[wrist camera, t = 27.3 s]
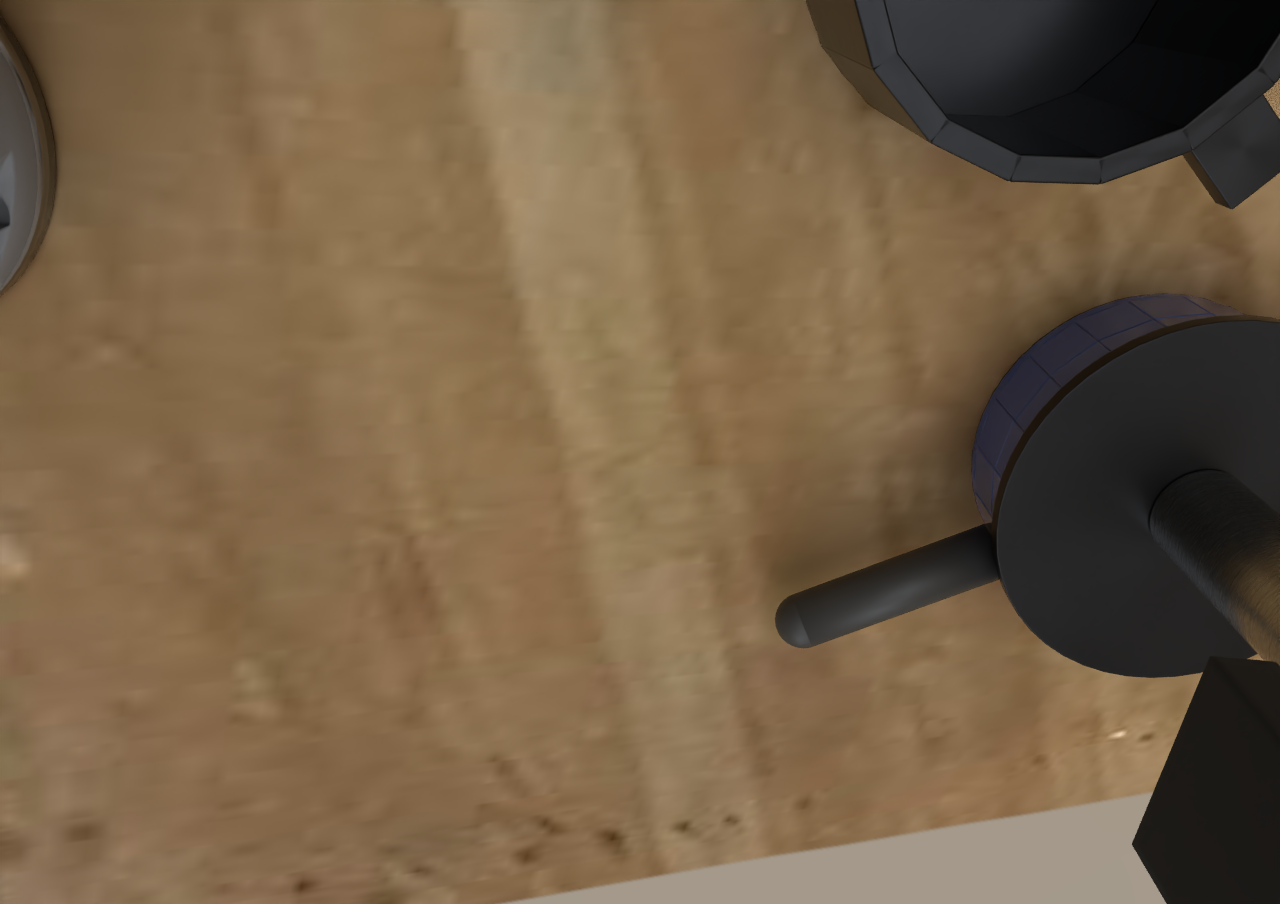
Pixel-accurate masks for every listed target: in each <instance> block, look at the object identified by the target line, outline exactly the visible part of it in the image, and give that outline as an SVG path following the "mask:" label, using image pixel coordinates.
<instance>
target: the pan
mask: <svg viewBox="0 0 1280 904" xmlns="http://www.w3.org/2000/svg"><path fill="white" fill-rule="evenodd" d="M1233 315H1245V314H1243V313H1241V312H1239V311H1238V310H1236V309H1234V308H1232V307H1230V306H1225V305H1223V304H1220V303H1217V302H1214V301H1211V300H1208V299H1205V298H1200V297H1194V296H1189V295H1181V294H1152V295H1140V296H1135V297H1130V298H1125V299H1120V300H1116V301H1113V302H1110V303H1107V304H1104V305H1101V306H1098V307H1095V308H1093V309H1091V310H1088V311H1086V312H1084V313H1082V314H1080V315H1078V316H1075V317H1073V318H1072V319H1070V320H1068V321H1067V322H1065V323H1063V324H1062V325H1060V326H1058V327H1057V328H1055V329H1054V330H1052V331H1051V332H1050V333H1048V334H1047V335H1046V336H1044V337H1043V338H1042V339H1040V340H1039V341H1038V342H1036V343H1035V344H1034V345H1033V346H1032V347H1031V348H1030V349H1029V350H1028V351H1027V352H1026V353H1025V354H1024V355H1023V356H1022V357H1020V358H1019V360H1018V361H1017V362H1016V363H1015V364H1014V365H1013V367H1012V368H1011V369H1010V370H1009V371H1008V373H1007V374H1006V375H1005V376H1004V378H1003V379H1002V381H1001V382H1000V384H999V385H998V387H997V388H996V390H995V391H994V393H993V394H992V396H991V398H990V401H989V403H988V405H987V407H986V409H985V411H984V413H983V415H982V418H981V421H980V424H979V427H978V430H977V432H976V437H975V442H974V447H973V452H972V468H971V472H972V484H973V491H974V495H975V499H976V503H977V507H978V509H979V512H980V514H981V516H982V519H983V521H984V523H985V524H986V523H992V518H993V510H994V502H995V498H996V495H997V491H998V487H999V484H1000V480H1001V477H1002V475H1003V472H1004V470H1005V467H1006V465H1007V463H1008V460H1009V458H1010V456H1011V454H1012V452H1013V450H1014V448H1015V447H1016V445H1017V443H1018V442H1019V440H1020V438H1021V436H1022V435H1023V433H1024V431H1025V430H1026V429H1027V427H1028V426H1029V425H1030V423H1031V422H1032V421H1033V419H1034V418H1035V417H1036V415H1037V414H1038V413H1039V411H1040V410H1041V409H1042V408H1043V407H1044V406H1045V405H1046V404H1047V402H1048V401H1049V400H1050V399H1051V398H1052V397H1053V396H1054V395H1055V394H1056V393H1057V392H1058V391H1059V390H1060V389H1061V388H1062V387H1063V386H1064V385H1065V384H1067V383H1068V382H1069V381H1070V380H1071V379H1072V378H1074V377H1075V376H1076V375H1077V374H1078V373H1079V372H1081V371H1082V370H1083V369H1085V368H1086V367H1088V366H1089V365H1091V364H1092V363H1093V362H1095V361H1096V360H1098V359H1099V358H1101V357H1102V356H1104V355H1105V354H1107V353H1109V352H1111V351H1112V350H1114V349H1116V348H1118V347H1120V346H1122V345H1123V344H1125V343H1127V342H1129V341H1131V340H1133V339H1135V338H1138V337H1140V336H1143V335H1145V334H1148V333H1150V332H1153V331H1155V330H1158V329H1160V328H1164V327H1167V326H1171V325H1174V324H1178V323H1182V322H1185V321H1189V320H1196V319H1202V318H1208V317H1214V316H1233Z"/></svg>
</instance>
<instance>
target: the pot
mask: <svg viewBox="0 0 1280 904" xmlns="http://www.w3.org/2000/svg"><path fill="white" fill-rule="evenodd" d="M806 3H807V6H808V9H809V12H810V15H811V18H812V20H813V23H814V26H815V29H816V31H817V34H818V37H819V41H820V44H821V46H822V47H823V49H824V50H825V51H826V52H827V54H828V55H829V56H830V57H831V59H832V60H833V61H834V63H835V64H836V66H837V67H838V69H839V70H840V72H841V73H842V74H843V75H844V76H845V77H846V79H847V80H848V81H849V82H850V83H851V84H852V85H853V86H854V87H855V88H856V90H857V91H858V92H859V93H860V95H861V96H862V97H863V98H864V100H865V101H866V102H867V103H868V104H869V105H870V106H871V107H873V108H875V109H876V110H878V111H880V112H881V113H883V114H884V115H886V116H888V117H889V118H891V119H893V120H894V121H896V122H897V123H899V124H901V125H902V126H904V127H906V128H907V129H909V130H910V131H912V132H914V133H915V134H917V135H919V136H920V137H922V138H923V139H925V140H927V141H928V142H930V143H931V144H933V145H936V146H938V147H940V148H942V149H944V150H946V151H948V152H950V153H952V154H954V155H956V156H958V157H960V158H962V159H964V160H966V161H968V162H970V163H972V164H974V165H976V166H978V167H980V168H982V169H984V170H986V171H988V172H990V173H992V174H994V175H996V176H998V177H1000V178H1002V179H1004V180H1006V181H1011V182H1033V183H1065V184H1097V185H1098V184H1103V183H1106V182H1109V181H1111V180H1114V179H1117V178H1120V177H1122V176H1125V175H1128V174H1131V173H1133V172H1136V171H1139V170H1142V169H1145V168H1147V167H1150V166H1153V165H1156V164H1158V163H1161V162H1164V161H1167V160H1169V159H1172V158H1175V157H1178V156H1180V155H1183V156H1184V158H1185V159H1186V161H1187V162H1188V164H1189V165H1190V167H1191V168H1192V169H1193V171H1194V172H1195V174H1196V175H1197V177H1198V178H1199V179H1200V181H1201V182H1202V184H1203V185H1204V187H1205V188H1206V190H1207V191H1208V192H1209V194H1210V195H1211V197H1212V198H1213V200H1214V201H1215V202H1216V203H1218V204H1220V205H1222V206H1225V207H1227V208H1229V209H1234V208H1235V207H1236V206H1238V205H1239V204H1240V203H1241V202H1243V201H1244V200H1245V199H1247V198H1248V197H1249V196H1250V195H1252V194H1253V193H1254V192H1255V191H1257V190H1258V189H1259V188H1261V187H1262V186H1263V185H1264V184H1266V183H1267V182H1268V181H1270V180H1271V179H1272V178H1273V177H1275V176H1276V175H1277V174H1278V173H1280V120H1279V118H1278V117H1277V115H1276V113H1275V112H1274V110H1273V109H1272V107H1271V106H1270V104H1269V103H1268V101H1267V99H1266V98H1265V96H1264V95H1263V94H1264V93H1265V92H1267V91H1268V90H1269V89H1270V88H1271V87H1273V86H1274V85H1275V84H1274V83H1276V82H1277V81H1278V80H1279V78H1280V0H806Z"/></svg>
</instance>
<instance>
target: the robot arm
mask: <svg viewBox="0 0 1280 904" xmlns="http://www.w3.org/2000/svg"><path fill="white" fill-rule="evenodd" d="M55 186H56V160H55V148H54V140H53V135H52V129H51V123H50V119H49V116H48V112H47V108H46V105H45V101H44V98H43V95H42V93H41V90H40V87H39V85H38V82H37V79H36V77H35V75H34V73H33V70H32V68H31V66H30V64H29V62H28V60H27V58H26V56H25V54H24V52H23V50H22V48H21V47H20V45H19V43H18V42H17V40H16V38H15V36H14V35H13V33H12V31H11V30H10V28H9V27H8V26H7V24H6V23H5V21H4V20H3V18H2V17H1V15H0V297H1V296H2V295H3V294H4V293H5V292H6V291H8V290H9V289H10V288H11V287H12V286H13V285H14V284H15V283H16V281H17V280H18V279H19V278H20V277H21V276H22V275H23V273H24V272H25V270H26V269H27V267H28V266H29V265H30V263H31V262H32V260H33V259H34V257H35V255H36V253H37V251H38V249H39V247H40V245H41V243H42V241H43V238H44V235H45V233H46V230H47V227H48V224H49V220H50V216H51V212H52V208H53V202H54V194H55ZM1132 845H1133V847H1134V849H1135V850H1136V852H1137V854H1138V856H1139V857H1140V859H1141V861H1142V862H1143V864H1144V866H1145V868H1146V869H1147V871H1148V873H1149V874H1150V876H1151V878H1152V879H1153V881H1154V883H1155V884H1156V886H1157V888H1158V890H1159V891H1160V893H1161V895H1162V897H1163V898H1164V900H1165V902H1166V903H1167V904H1280V666H1279V665H1278V664H1277V663H1276V662H1273V661H1261V660H1250V659H1238V658H1227V657H1216V656H1210V657H1209V660H1208V662H1207V664H1206V667H1205V669H1204V672H1203V674H1202V676H1201V679H1200V681H1199V684H1198V686H1197V688H1196V691H1195V693H1194V696H1193V698H1192V701H1191V703H1190V705H1189V708H1188V710H1187V713H1186V715H1185V717H1184V720H1183V722H1182V725H1181V727H1180V729H1179V732H1178V734H1177V737H1176V739H1175V741H1174V744H1173V746H1172V749H1171V751H1170V753H1169V756H1168V758H1167V761H1166V763H1165V766H1164V768H1163V770H1162V773H1161V775H1160V778H1159V780H1158V782H1157V785H1156V787H1155V790H1154V792H1153V794H1152V797H1151V799H1150V802H1149V804H1148V807H1147V809H1146V811H1145V814H1144V816H1143V818H1142V821H1141V823H1140V826H1139V828H1138V830H1137V833H1136V835H1135V838H1134V840H1133V843H1132Z"/></svg>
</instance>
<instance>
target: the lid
mask: <svg viewBox="0 0 1280 904" xmlns="http://www.w3.org/2000/svg"><path fill="white" fill-rule="evenodd" d="M992 550H993V555H994V561H995V566H996V570H997V573H998V576H999V579H1000V582H1001V584H1002V587H1003V589H1004V591H1005V593H1006V595H1007V597H1008V598H1009V600H1010V602H1011V604H1012V606H1013V607H1014V609H1015V611H1016V612H1017V614H1018V615H1019V616H1020V618H1021V619H1022V620H1023V621H1024V623H1025V624H1026V625H1027V626H1028V628H1029V629H1030V630H1031V631H1032V632H1033V633H1034V634H1035V635H1036V636H1037V637H1039V638H1040V639H1041V640H1042V641H1043V642H1044V643H1045V644H1046V645H1048V646H1049V647H1051V648H1052V649H1054V650H1055V651H1057V652H1058V653H1060V654H1061V655H1063V656H1065V657H1067V658H1069V659H1071V660H1073V661H1075V662H1078V663H1080V664H1082V665H1084V666H1087V667H1090V668H1094V669H1097V670H1100V671H1103V672H1107V673H1113V674H1118V675H1123V676H1132V677H1147V678H1156V677H1176V676H1183V675H1189V674H1196V673H1201V672H1204V669H1205V667H1206V664H1207V662H1208V660H1209V657H1210V656H1216V657H1227V658H1238V659H1247V658H1250V657H1252V656H1254V655H1256V654H1259V656H1260V657H1261V658H1262V659H1263V660H1264V661H1273V662H1276V663H1277V664H1278V665H1279V666H1280V319H1276V318H1271V317H1260V316H1249V315H1233V316H1214V317H1208V318H1202V319H1196V320H1189V321H1185V322H1182V323H1178V324H1174V325H1171V326H1167V327H1164V328H1160V329H1158V330H1155V331H1153V332H1150V333H1148V334H1145V335H1143V336H1140V337H1138V338H1135V339H1133V340H1131V341H1129V342H1127V343H1125V344H1123V345H1122V346H1120V347H1118V348H1116V349H1114V350H1112V351H1111V352H1109V353H1107V354H1105V355H1104V356H1102V357H1101V358H1099V359H1098V360H1096V361H1095V362H1093V363H1092V364H1091V365H1089V366H1088V367H1086V368H1085V369H1083V370H1082V371H1081V372H1079V373H1078V374H1077V375H1076V376H1075V377H1074V378H1072V379H1071V380H1070V381H1069V382H1068V383H1067V384H1065V385H1064V386H1063V387H1062V388H1061V389H1060V390H1059V391H1058V392H1057V393H1056V394H1055V395H1054V396H1053V397H1052V398H1051V399H1050V400H1049V401H1048V402H1047V404H1046V405H1045V406H1044V407H1043V408H1042V409H1041V410H1040V411H1039V413H1038V414H1037V415H1036V417H1035V418H1034V419H1033V421H1032V422H1031V423H1030V425H1029V426H1028V427H1027V429H1026V430H1025V431H1024V433H1023V435H1022V436H1021V438H1020V440H1019V442H1018V443H1017V445H1016V447H1015V448H1014V450H1013V452H1012V454H1011V456H1010V458H1009V460H1008V463H1007V465H1006V467H1005V470H1004V472H1003V475H1002V477H1001V480H1000V484H999V487H998V491H997V495H996V498H995V502H994V510H993V518H992Z"/></svg>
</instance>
